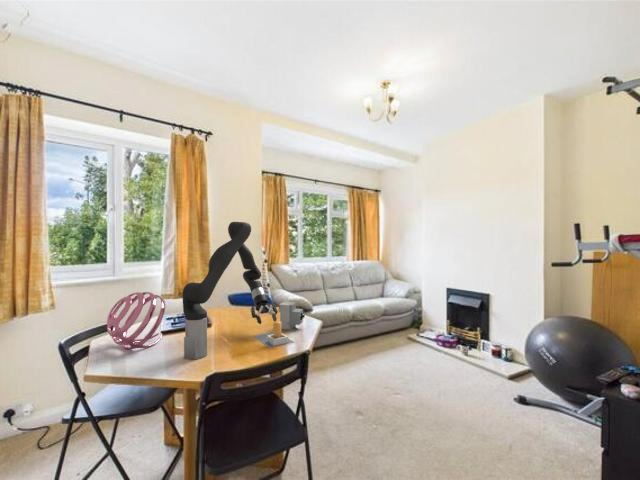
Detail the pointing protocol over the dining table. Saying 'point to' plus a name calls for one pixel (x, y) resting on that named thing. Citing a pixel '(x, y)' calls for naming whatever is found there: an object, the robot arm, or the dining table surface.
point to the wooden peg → (277, 329)
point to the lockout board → (272, 339)
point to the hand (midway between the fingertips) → (268, 322)
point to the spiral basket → (121, 333)
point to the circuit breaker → (290, 315)
